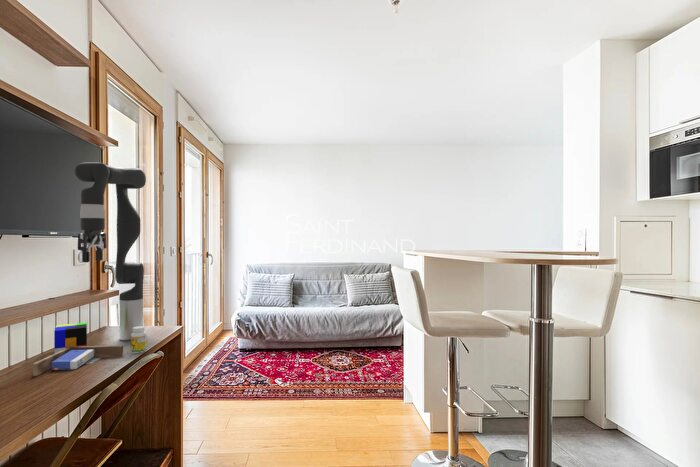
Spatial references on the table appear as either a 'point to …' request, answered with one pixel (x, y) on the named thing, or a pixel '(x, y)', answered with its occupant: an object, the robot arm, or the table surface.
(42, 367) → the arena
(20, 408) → the table surface
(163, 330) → the table surface
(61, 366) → the walkman
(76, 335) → the puzzle toy
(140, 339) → the supplement bottle
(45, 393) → the table surface
